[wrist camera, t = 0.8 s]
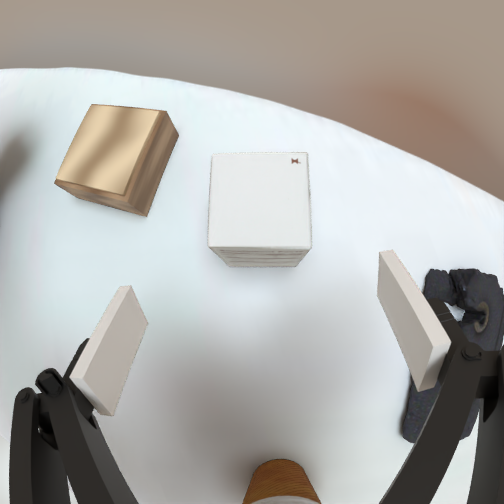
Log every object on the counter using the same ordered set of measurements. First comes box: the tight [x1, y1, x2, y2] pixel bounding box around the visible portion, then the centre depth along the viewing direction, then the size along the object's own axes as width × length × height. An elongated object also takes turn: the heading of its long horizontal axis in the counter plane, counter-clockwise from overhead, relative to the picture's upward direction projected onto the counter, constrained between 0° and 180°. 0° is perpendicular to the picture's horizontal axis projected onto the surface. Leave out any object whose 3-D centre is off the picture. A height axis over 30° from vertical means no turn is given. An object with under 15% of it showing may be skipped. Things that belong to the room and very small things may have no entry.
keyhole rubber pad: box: [403, 269, 504, 443], centre depth 29 cm, size 15×22×5 cm
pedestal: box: [54, 104, 179, 217], centre depth 33 cm, size 11×11×6 cm
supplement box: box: [208, 152, 312, 267], centre depth 28 cm, size 7×7×13 cm
